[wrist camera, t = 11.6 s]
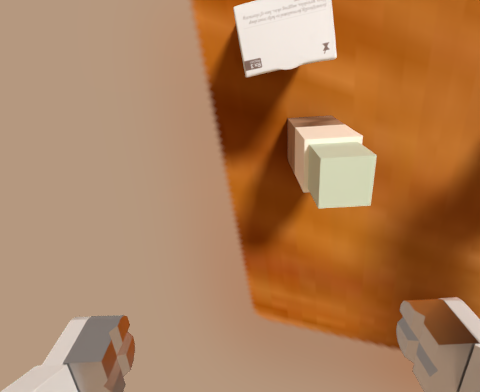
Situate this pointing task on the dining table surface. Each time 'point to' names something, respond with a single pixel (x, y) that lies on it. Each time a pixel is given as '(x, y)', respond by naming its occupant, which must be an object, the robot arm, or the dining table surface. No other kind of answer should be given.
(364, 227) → the dining table surface
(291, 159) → the block bottom
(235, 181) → the dining table surface
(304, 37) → the skincare box
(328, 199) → the block small
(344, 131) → the block top
